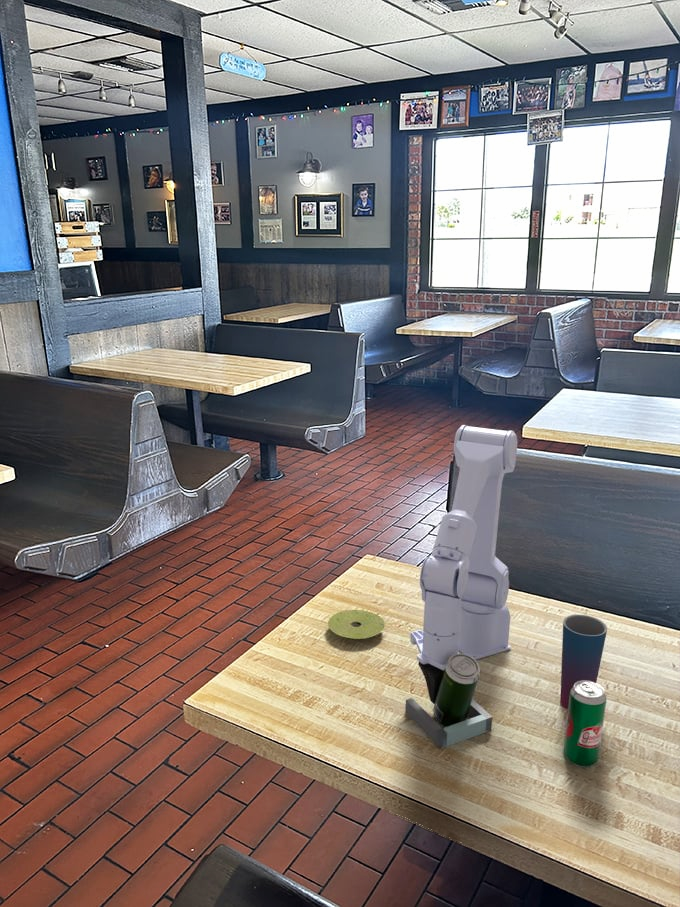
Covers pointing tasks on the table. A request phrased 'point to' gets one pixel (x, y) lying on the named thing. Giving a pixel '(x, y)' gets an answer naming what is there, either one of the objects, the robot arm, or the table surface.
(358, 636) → the green disc with hole
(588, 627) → the cup
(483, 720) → the dock
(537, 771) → the table surface
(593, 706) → the soda can
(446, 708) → the beer can
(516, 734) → the table surface
